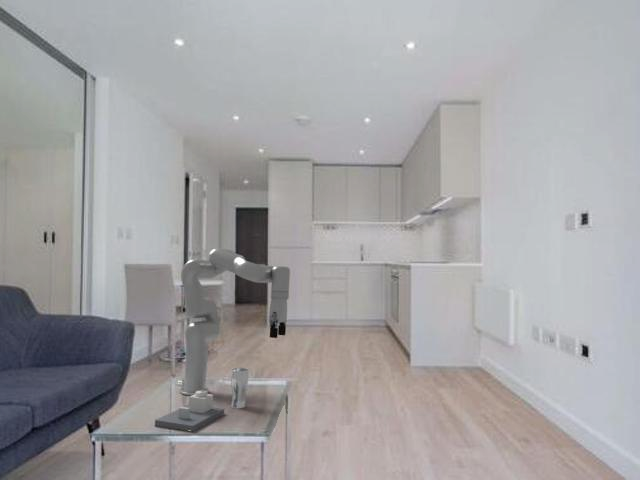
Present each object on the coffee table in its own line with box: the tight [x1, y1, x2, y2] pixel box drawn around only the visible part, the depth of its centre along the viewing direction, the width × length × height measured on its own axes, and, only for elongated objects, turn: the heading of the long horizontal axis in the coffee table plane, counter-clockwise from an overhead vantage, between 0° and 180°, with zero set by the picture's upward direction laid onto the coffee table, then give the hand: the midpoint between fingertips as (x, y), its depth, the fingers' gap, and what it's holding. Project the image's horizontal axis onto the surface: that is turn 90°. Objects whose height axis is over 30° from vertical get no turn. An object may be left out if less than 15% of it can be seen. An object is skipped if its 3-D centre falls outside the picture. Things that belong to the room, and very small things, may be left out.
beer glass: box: [230, 367, 249, 410], centre depth 184 cm, size 7×7×15 cm
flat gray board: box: [154, 404, 225, 432], centre depth 165 cm, size 15×22×6 cm
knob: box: [187, 390, 214, 413], centre depth 171 cm, size 7×7×7 cm
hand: (277, 336), depth 189 cm, fingers open, 9 cm apart
